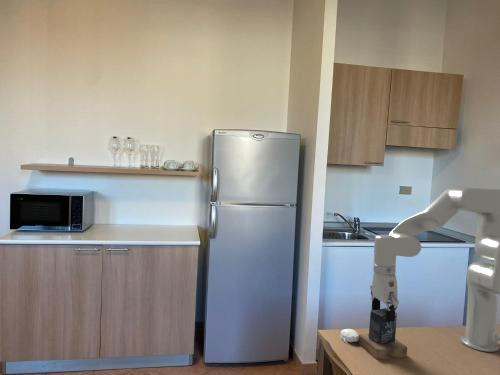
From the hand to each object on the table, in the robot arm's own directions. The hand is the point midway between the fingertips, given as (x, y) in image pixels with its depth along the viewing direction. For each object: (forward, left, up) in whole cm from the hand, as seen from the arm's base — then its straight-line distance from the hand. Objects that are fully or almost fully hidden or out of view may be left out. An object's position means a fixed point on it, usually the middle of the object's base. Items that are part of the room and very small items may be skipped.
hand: (382, 315), depth 138 cm
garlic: (+8, -8, -13) cm, 17 cm away
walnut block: (0, +1, -13) cm, 13 cm away
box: (0, 0, -9) cm, 9 cm away
